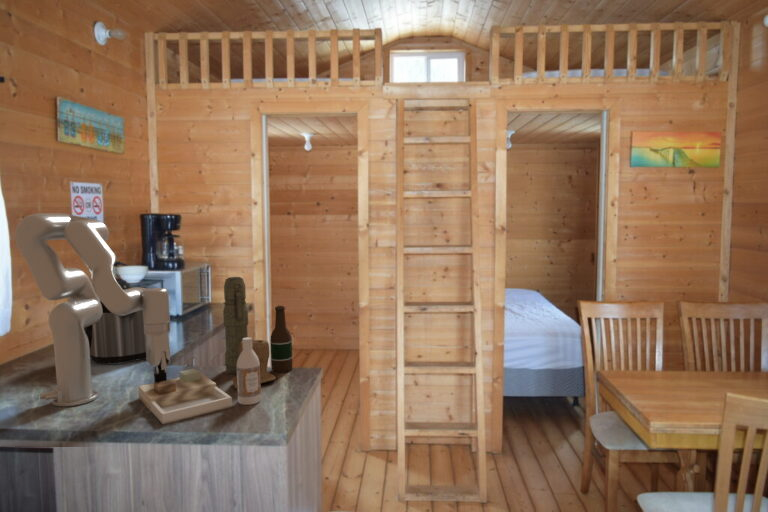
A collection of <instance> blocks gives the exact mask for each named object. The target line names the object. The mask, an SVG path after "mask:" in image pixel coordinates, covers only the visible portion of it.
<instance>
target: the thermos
mask: <svg viewBox="0 0 768 512" xmlns="http://www.w3.org/2000/svg"><path fill="white" fill-rule="evenodd" d="M223 294H224V295H223V296H224V297H223V298H224V307H223V311H222V312H223V327H224V329H225V330H224V331H225V346H226V347H225V353H224V365H225V372H227V374H228V373H230V374H229V375H237V360H238V358H239V345H240V343H241V342H242V339H243V338H247V337H249V336H248V333H249V332H248V325H249V309H248V306H247V302H246V298H247V297H246V296H247V293H246V284H245V280H244V278H242V277H241V276H233V277H227V278H225V281H224V285H223Z"/></svg>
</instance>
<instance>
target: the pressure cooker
mask: <svg viewBox="0 0 768 512" xmlns="http://www.w3.org/2000/svg"><path fill="white" fill-rule="evenodd" d="M117 283H118V284H119V285H120V286H121V288H122V289H123V290H126V289H130V288H131V287H130V286H129V284H128V282H127V281H126V280H119V281H117ZM140 287H141V288H147V287H146V286H140ZM99 300H100V299H99ZM100 303H101V305H102V310H103V313H102V317H101V319H100V320H99V321H98V322H97V323H95V324H93V325H90V326H88V327H85V328H84V331H85V333H86V335H87V337H88V340H89V348H90V360H92V361H93V362H94V363H97V364H107V365H108V364H109V365H113V364H121V363H122V364H123V363H128V362H133V361H141V360H144V359H145V360H146V334H144V318H143V310H140V311H137V312H133V313H131V314H128V315H125V316H118V315H115V314H113V313H112V312H110V311H109V310H108V309H107V308H106V307H105V305H104V304H103V303H102V302H101V300H100Z"/></svg>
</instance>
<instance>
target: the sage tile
mask: <svg viewBox="0 0 768 512" xmlns="http://www.w3.org/2000/svg"><path fill="white" fill-rule="evenodd" d="M200 373H201V371H200V370H198V369H196V368H191V369H187V370H186V369H185V370H181V371H179V378H180V379H181V380H182V381H183V382H185V383H186V382H191V381H195V380H200Z"/></svg>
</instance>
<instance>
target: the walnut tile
mask: <svg viewBox="0 0 768 512" xmlns="http://www.w3.org/2000/svg"><path fill="white" fill-rule="evenodd" d="M153 383H154V391H155V392H156V393H157V394H159V395H162V394H166V393H170V392H174V391H176V383H175V382H173V381H172V380H171V379H167V380H165V381H161V382H156V383H155V382H153Z"/></svg>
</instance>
